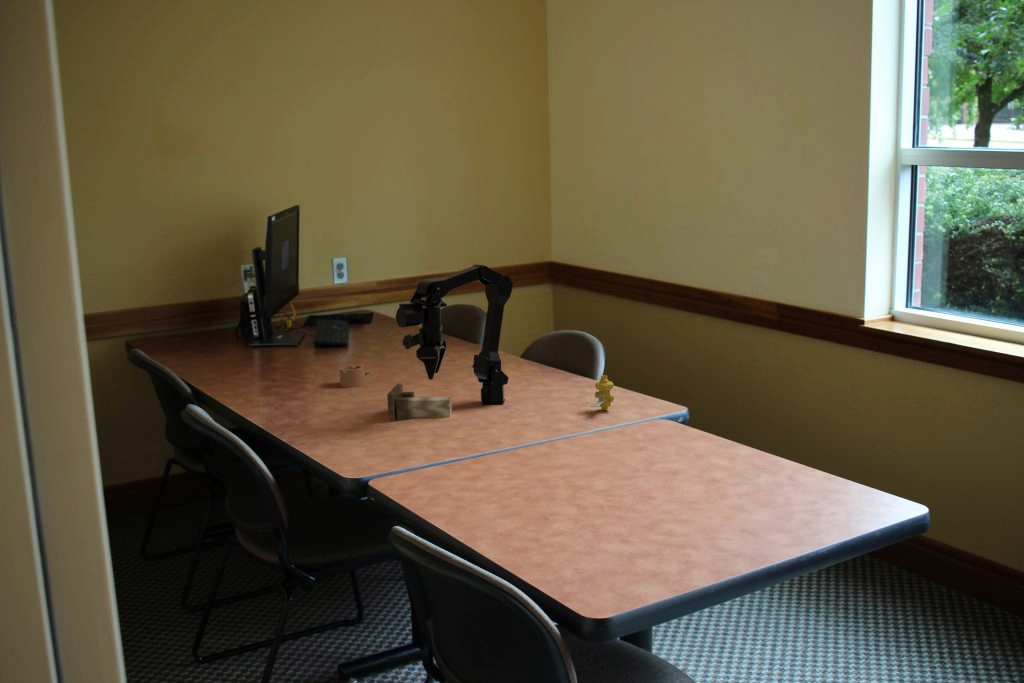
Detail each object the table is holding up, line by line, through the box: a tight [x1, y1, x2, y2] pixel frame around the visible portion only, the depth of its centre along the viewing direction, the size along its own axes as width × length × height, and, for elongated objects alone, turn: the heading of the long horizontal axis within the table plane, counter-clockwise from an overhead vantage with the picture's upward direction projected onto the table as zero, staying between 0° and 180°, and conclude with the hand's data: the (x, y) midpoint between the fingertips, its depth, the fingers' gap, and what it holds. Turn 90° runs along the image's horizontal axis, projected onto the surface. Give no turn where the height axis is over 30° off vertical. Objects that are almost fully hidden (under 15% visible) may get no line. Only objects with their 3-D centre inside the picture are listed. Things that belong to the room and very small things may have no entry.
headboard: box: [386, 383, 415, 423], centre depth 292 cm, size 6×14×8 cm, turn 175°
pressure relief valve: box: [589, 374, 615, 411], centre depth 289 cm, size 6×12×10 cm, turn 155°
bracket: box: [339, 364, 378, 388], centre depth 337 cm, size 18×8×7 cm, turn 164°
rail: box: [401, 396, 453, 418], centre depth 292 cm, size 15×4×5 cm, turn 85°
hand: (433, 376), depth 290 cm, fingers open, 9 cm apart
